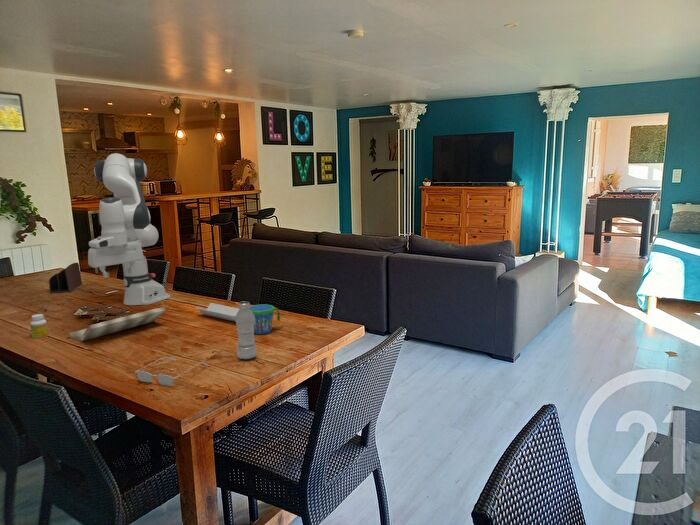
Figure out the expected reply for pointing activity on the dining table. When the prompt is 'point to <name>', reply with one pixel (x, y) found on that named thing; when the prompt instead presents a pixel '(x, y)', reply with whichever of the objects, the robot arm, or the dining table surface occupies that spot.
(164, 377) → the eyeglasses
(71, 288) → the letter holder
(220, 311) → the z bracket
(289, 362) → the dining table surface
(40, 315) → the supplement bottle
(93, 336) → the loose plank
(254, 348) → the plastic bottle
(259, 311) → the snack cup
